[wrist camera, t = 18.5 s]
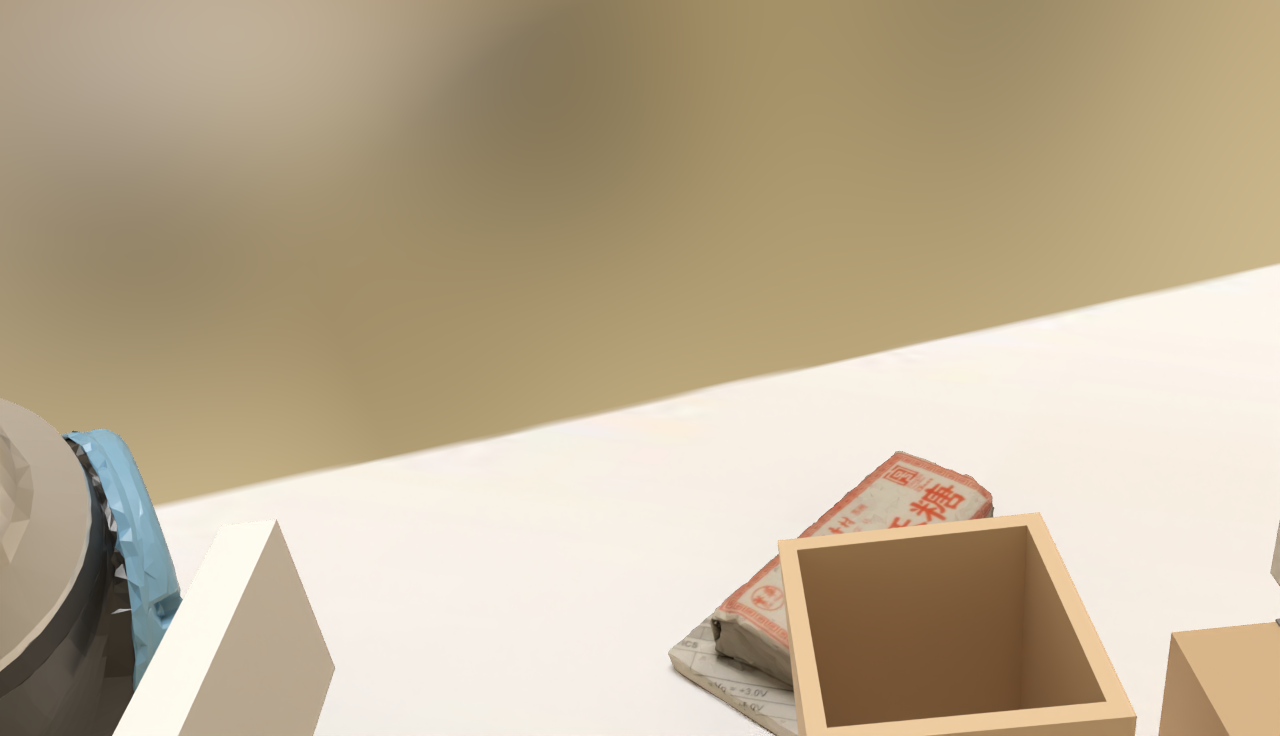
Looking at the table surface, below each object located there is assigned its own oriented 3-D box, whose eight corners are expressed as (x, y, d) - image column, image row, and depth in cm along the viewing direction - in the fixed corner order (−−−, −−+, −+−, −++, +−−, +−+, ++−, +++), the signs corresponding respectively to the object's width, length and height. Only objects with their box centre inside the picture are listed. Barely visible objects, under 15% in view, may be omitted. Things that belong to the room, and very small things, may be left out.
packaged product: (871, 426, 65) (1033, 485, 58) (874, 493, 67) (1030, 557, 61) (655, 604, 54) (823, 700, 48) (668, 675, 57) (829, 776, 50)
